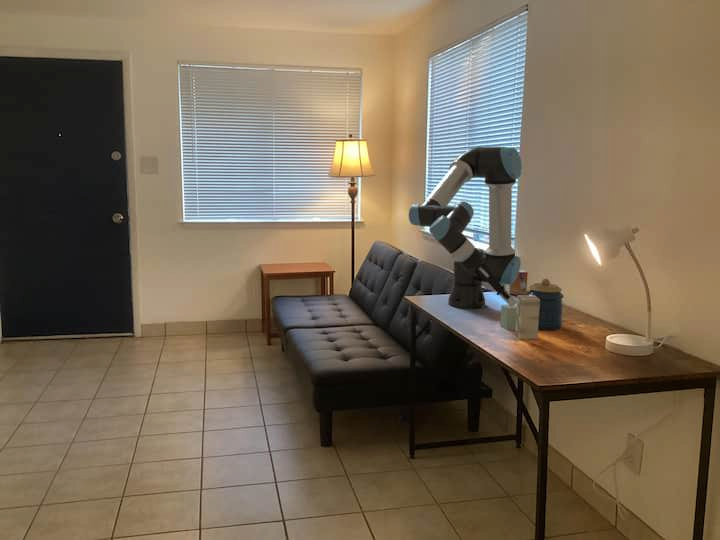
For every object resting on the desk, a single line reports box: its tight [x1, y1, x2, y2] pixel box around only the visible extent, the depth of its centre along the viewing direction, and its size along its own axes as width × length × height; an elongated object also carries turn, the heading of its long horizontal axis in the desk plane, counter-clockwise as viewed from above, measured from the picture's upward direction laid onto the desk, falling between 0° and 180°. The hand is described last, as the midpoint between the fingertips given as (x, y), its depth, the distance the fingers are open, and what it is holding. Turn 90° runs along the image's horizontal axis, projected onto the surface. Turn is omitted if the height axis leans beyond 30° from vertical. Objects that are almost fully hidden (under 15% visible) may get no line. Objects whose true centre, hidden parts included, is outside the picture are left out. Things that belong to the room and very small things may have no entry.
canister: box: [526, 278, 565, 331], centre depth 230 cm, size 13×13×18 cm
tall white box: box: [514, 294, 540, 341], centre depth 216 cm, size 6×6×14 cm
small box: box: [505, 269, 529, 295], centre depth 286 cm, size 8×6×10 cm
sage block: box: [499, 304, 517, 331], centre depth 228 cm, size 4×4×8 cm
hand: (514, 304), depth 215 cm, fingers closed
